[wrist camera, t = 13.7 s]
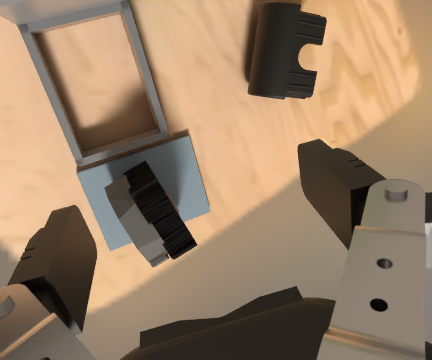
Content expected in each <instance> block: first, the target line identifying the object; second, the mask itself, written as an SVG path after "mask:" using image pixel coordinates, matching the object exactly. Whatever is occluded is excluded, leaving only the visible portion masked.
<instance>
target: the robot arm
mask: <svg viewBox="0 0 432 360" xmlns="http://www.w3.org/2000/svg"><path fill="white" fill-rule="evenodd" d="M298 159H299V168H300V178H301V185H302V188H303V192H304V194H305V196H306V198H307V200H308V201H309V202H310V203H311V204H312V206H313V207H314V208H315V209H316V211H317V212H318V213H319V214H320V216H321V217H322V218H323V219H324V221H325V222H326V223H327V224H328V226H329V227H330V228H331V229H332V231H334V233H335V234H336V236H337V237H338V238H339V239H340V240H341V242H342V243H343V244H344V245H345V247H346V248H347V249H348V250H349V252H348V256H347V260H346V264H345V268H344V272H343V276H342V279H341V283H340V287H339V291H338V295H337V299H336V301H334V300H329V299H323V298H309V297H308V298H302V296H301V294H300V292H299V290H298V288H297V286H295V287H292V288H289V289H285V290H282V291H278V292H275V293H271V294H268V295H265V296H261V297H258V298H257V299H255V300H253V301H251V302H249V303H247V304H246V305H244V306H242V307H240V308H238V309H236V310H234V311H233V312H231V313H229V314H227V315H225V316H223V317H220V318H209V319H196V320H181V321H176V322H173V323H170V324H166V325H163V326H159V327H156V328H153V329H149V330H146V331H142V332H140V346H139V347H138V348H136V349H134V350H132V351H131V352H129V353H128V354H126V355H125V356H124V357H123V358H121V359H120V360H432V344H431V343H429V342H426V341H425V307H426V268H432V192H431V193H425V191H424V189H423V188H422V187H421V186H420V185H418V184H416V183H414V182H411V181H408V180H402V179H388V180H387V179H386V178H384V177H383V176H382V175H380V174H379V173H378V172H376V171H375V170H374V169H372V168H371V167H369V166H368V165H366V163H364V162H363V161H362V160H359V159H358V157H356V156H355V155H353V154H352V153H351V152H349V151H345V150H342V149H339V148H335V149H332V148H331V147H329V146H328V145H327V144H326V143H324V142H323V141H322V140H320V139H317V140H313V141H310V142H306V143H302V144H299V145H298ZM20 259H21V261H19V262H18V264H17V266H16V269H15V271H14V273H13V275H12V277H11V279H10V281H9V283H8V285H7V286H6V287H4V288H1V289H0V360H97V359H96V358H95V357H94V356H93V355H92V353H91V352H90V351H89V350H88V349H87V348H86V347H85V346H84V345H83V344H82V343H81V341H80V340H79V339H78V338H77V337H76V336H75V335H77V334H80V333H82V331H83V325H84V320H85V315H86V310H87V305H88V300H89V295H90V290H91V285H92V280H93V275H94V270H95V265H96V260H97V249H96V244H95V241H94V239H93V237H92V235H91V233H90V231H89V228H88V226H87V224H86V222H85V220H84V218H83V216H82V214H81V212H80V210H79V208H78V207H77V206H76V205H72V206H69V207H65V208H61V209H57V210H54V211H52V212H51V214H50V216H49V219H48V221H47V223H46V225H45V227H44V228H41V229H40V230H39V231H38V232H37V233H36V234H35V235H34V236H33V237H32V238H31V239H30V240H29V242H28V244H27V246H26V248H25V252H23V254H22V256H21V258H20Z"/></svg>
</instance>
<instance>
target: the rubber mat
mask: <svg viewBox="0 0 432 360" xmlns="http://www.w3.org/2000/svg"><path fill="white" fill-rule="evenodd" d="M145 160H146V162H147V163H148V165H149V166H150V168H151V170H152V171H153V173H154V175H155V176H156V178H157V179H158V181H159V183H160V184H161V186H162V187H163V189H164V190H167V192H168V193H169V195H170V197H171V198H172V200H173V202H174V203H175V205H176V207H177V208H178V210H179V213H178V214H179V215H180V217H181V219H182V220H183V222H185V221H188V220H190V219H193V218H195V217H198V216H200V215H203V214H206V213H208V212H211V211H210V208H209V204H208V201H207V197H206V193H205V190H204V186H203V183H202V179H201V176H200V172H199V169H198V165H197V162H196V158H195V155H194V151H193V148H192V144H191V140H190V137H189V135H185V136H182V137H179V138H176V139H173V140H170V141H167V142H164V143H161V144H158V145H155V146H152V147H149V148H146V149H143V150H140V151H137V152H134V153H131V154H128V155H125V156H122V157H119V158H116V159H113V160H110V161H107V162H104V163H101V164H98V165H95V166H92V167H89V168H86V169H83V170H80V171H77V176H78V178H79V180H80V183H81V185H82V187H83V190H84V192H85V194H86V197H87V199H88V201H89V203H90V206H91V208H92V210H93V213H94V215H95V217H96V220H97V222H98V224H99V226H100V229H101V231H102V233H103V236H104V238H105V240H106V243H107V245H108V247H109V250H110V251H112V250H114V249H117V248H119V247H122V246H124V245H127V244H129V243H132V242H133V241H132V240H131V238H130V237H129V235H128V234H127V232H126V230H125V229H124V227H123V226H122V224H121V223H120V221H119V219H118V218H117V216H116V214H115V212H114V210H113V208H112V206H111V204H110V202H109V200H108V198H107V194H106V191H105V188H104V187H106V186H108V185H109V184H111V183H113V182H114V181H116V180H118V179H119V178H121V177H123V173H124V172H126V171H128V170H130V169H131V168H133V167H135V166H136V165H138V164H140V163H142V162H143V161H145Z"/></svg>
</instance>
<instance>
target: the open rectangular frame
mask: <svg viewBox="0 0 432 360" xmlns="http://www.w3.org/2000/svg"><path fill="white" fill-rule="evenodd" d="M118 14H120V15H121V18H122V21H123V25H124V28H125V31H126V34H127V37H128V40H129V43H130V47H131V50H132V53H133V56H134V59H135V62H136V65H137V69H138V72H139V75H140V78H141V81H142V84H143V87H144V91H145V94H146V97H147V100H148V103H149V106H150V109H151V113H152V116H153V119H154V122H155V125H156V129H153V130H149V131H146V132H143V133H140V134H137V135H134V136H131V137H128V138H125V139H122V140H118V141H115V142H112V143H109V144H106V145H103V146H100V147H97V148H94V149H91V150H87V151H84V152H83V151H82V148H81V146H80V144H79V141H78V139H77V136H76V134H75V132H74V129H73V127H72V124H71V122H70V120H69V117H68V115H67V112H66V110H65V108H64V105H63V103H62V100H61V98H60V96H59V93H58V91H57V88H56V86H55V83H54V81H53V79H52V76H51V74H50V71H49V69H48V67H47V64H46V62H45V59H44V57H43V55H42V52H41V50H40V47H39V45H38V43H37V40H36V38H35V35H34V34H38V33H42V32H46V31H51V30H55V29H59V28H63V27H67V26H72V25H76V24H80V23H84V22H88V21H93V20H97V19H101V18H105V17H109V16H113V15H118ZM0 16H2V17H3V18H5V19H7V20H9V21H11V22H12V23H14V24H16V25H17V26H18V28H19V30H20V33H21V35H22V37H23V40H24V42H25V44H26V47H27V49H28V51H29V54H30V56H31V58H32V61H33V63H34V65H35V68H36V70H37V72H38V75H39V77H40V79H41V82H42V84H43V86H44V89H45V91H46V93H47V96H48V98H49V100H50V103H51V105H52V107H53V109H54V112H55V114H56V116H57V119H58V121H59V123H60V126H61V128H62V130H63V133H64V135H65V137H66V140H67V142H68V144H69V147H70V149H71V151H72V154H73V156H74V158H75V161H76V163H77V165H78V167H81V166H84V165H87V164H90V163H93V162H96V161H99V160H102V159H105V158H108V157H111V156H114V155H117V154H120V153H123V152H126V151H129V150H132V149H135V148H138V147H141V146H144V145H147V144H150V143H153V142H156V141H159V140H162V139H165V138H168V137H170V136H169V133H168V129H167V126H166V123H165V119H164V116H163V113H162V110H161V106H160V103H159V100H158V97H157V93H156V90H155V87H154V83H153V80H152V77H151V74H150V70H149V67H148V64H147V61H146V57H145V54H144V51H143V48H142V44H141V41H140V38H139V34H138V31H137V28H136V25H135V21H134V18H133V15H132V12H131V8H130V5H129V2H128V0H0Z"/></svg>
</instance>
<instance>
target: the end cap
mask: <svg viewBox="0 0 432 360" xmlns="http://www.w3.org/2000/svg"><path fill="white" fill-rule="evenodd" d="M300 8H301V5H299V4H294V3H285V2H270V3H265V4H262V5H261V6H260V7H259V14H258V21H257V28H256V35H255V43H254V50H253V57H252V64H251V72H250V79H249V86H248V94H250V95H255V96H261V97H269V98H276V99H285V97H291V98H300V99H305V98H306V97H308V98H310V97H311V96H312V95H313V91H314V86H315V80H316V75H317V71H310V70H305V69H303V68H302V67H301V66H300V64H299V61H298V54H299V51H300V49H301V48H302V47H303V46H304V45H305V44H314V45H322V43H323V38H324V33H325V27H326V22H327V20H326V18H325V17H322V16H320V15H316V14H312V13H307V12H302V11H300Z"/></svg>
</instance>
